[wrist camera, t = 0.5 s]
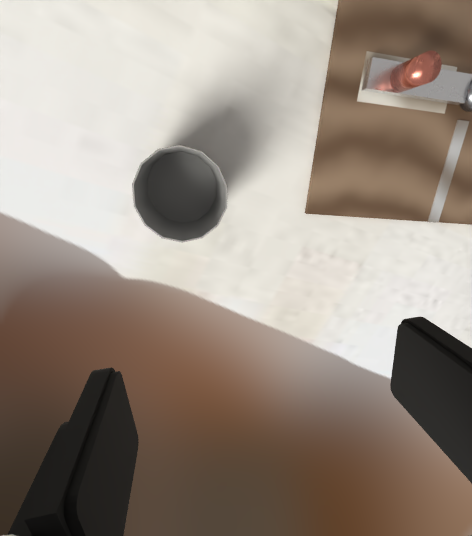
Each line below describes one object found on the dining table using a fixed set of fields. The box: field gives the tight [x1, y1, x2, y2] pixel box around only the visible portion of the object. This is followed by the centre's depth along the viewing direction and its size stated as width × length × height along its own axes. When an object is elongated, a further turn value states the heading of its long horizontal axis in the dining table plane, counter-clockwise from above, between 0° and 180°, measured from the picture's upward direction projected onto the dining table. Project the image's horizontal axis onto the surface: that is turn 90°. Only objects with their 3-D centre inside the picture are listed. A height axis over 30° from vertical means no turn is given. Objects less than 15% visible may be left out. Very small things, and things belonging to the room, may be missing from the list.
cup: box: [132, 145, 227, 242], centre depth 31 cm, size 8×8×10 cm
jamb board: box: [305, 0, 472, 224], centre depth 37 cm, size 28×38×3 cm
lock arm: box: [362, 50, 472, 112], centre depth 33 cm, size 17×4×5 cm, turn 85°
